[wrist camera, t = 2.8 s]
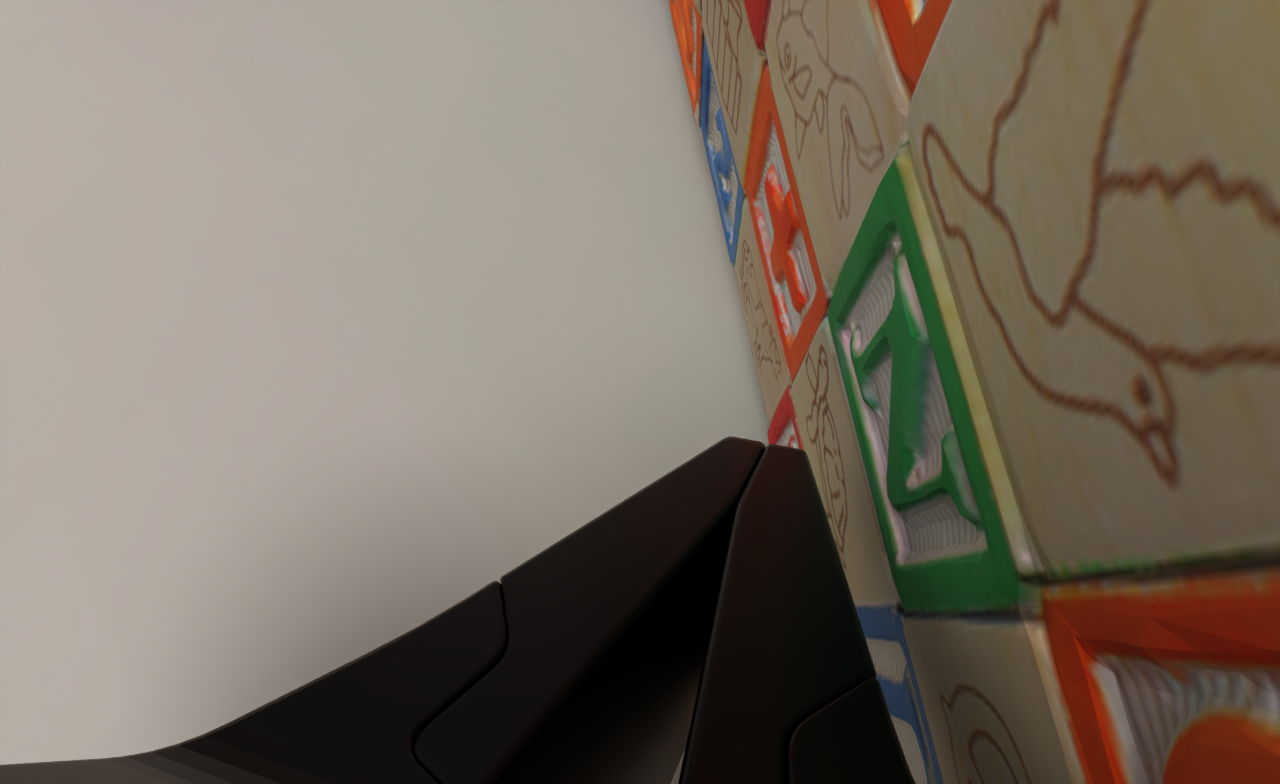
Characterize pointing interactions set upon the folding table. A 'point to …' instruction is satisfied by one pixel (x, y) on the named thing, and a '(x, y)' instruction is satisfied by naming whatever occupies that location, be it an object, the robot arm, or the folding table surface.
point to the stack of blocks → (1024, 358)
